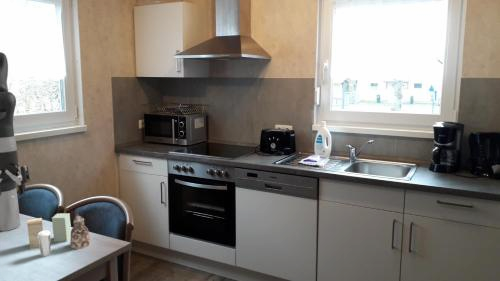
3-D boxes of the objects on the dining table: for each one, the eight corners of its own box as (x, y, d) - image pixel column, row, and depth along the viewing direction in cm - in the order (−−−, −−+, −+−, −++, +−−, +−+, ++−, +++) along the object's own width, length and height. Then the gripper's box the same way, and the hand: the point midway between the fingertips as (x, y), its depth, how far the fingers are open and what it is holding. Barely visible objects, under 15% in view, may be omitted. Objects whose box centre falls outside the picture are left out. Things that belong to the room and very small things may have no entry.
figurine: (70, 250, 156) (67, 220, 154) (70, 242, 163) (68, 214, 160) (90, 247, 159) (88, 217, 156) (90, 239, 165) (87, 211, 163)
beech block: (29, 244, 162) (27, 220, 160) (44, 241, 164) (41, 217, 162) (30, 248, 157) (27, 224, 155) (44, 246, 160) (42, 222, 158)
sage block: (59, 236, 168) (56, 213, 167) (71, 236, 169) (69, 213, 167) (54, 241, 164) (51, 218, 162) (66, 241, 164) (64, 217, 162)
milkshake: (37, 253, 154) (34, 228, 152) (52, 250, 155) (50, 226, 154) (35, 258, 149) (32, 232, 148) (51, 256, 151) (49, 230, 149)
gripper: (30, 147, 145) (35, 192, 147) (-9, 149, 145) (-3, 193, 148) (17, 150, 137) (23, 197, 139) (-24, 152, 138) (-17, 199, 140)
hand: (10, 195), depth 143 cm, fingers open, 8 cm apart
